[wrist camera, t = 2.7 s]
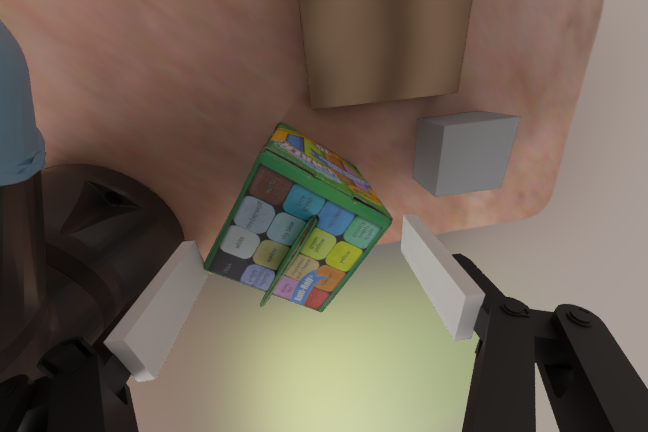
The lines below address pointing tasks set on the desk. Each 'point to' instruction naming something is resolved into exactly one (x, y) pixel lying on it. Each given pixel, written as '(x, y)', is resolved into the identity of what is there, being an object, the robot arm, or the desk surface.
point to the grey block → (463, 151)
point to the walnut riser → (382, 49)
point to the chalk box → (298, 223)
